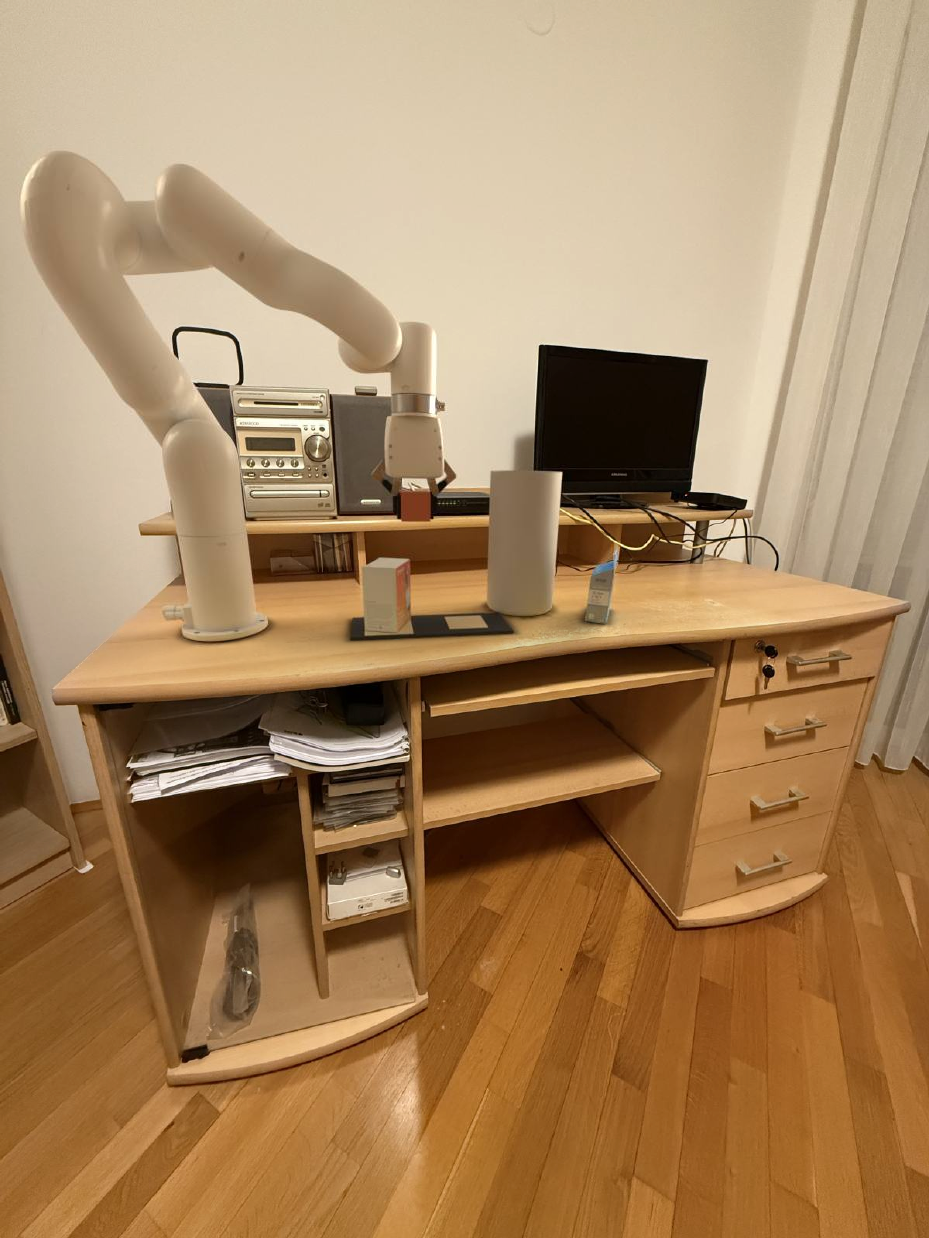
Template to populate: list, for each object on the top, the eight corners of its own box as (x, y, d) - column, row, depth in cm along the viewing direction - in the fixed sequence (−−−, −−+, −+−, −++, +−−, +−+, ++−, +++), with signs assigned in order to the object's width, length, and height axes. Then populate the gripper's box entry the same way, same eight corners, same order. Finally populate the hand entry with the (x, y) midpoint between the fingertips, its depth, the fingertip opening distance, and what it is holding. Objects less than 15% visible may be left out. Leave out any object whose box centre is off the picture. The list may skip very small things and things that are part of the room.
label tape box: (589, 608, 94) (595, 544, 90) (611, 610, 93) (618, 546, 89) (584, 621, 86) (591, 552, 82) (608, 624, 85) (616, 554, 81)
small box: (397, 634, 77) (395, 568, 73) (363, 631, 78) (360, 566, 74) (412, 618, 84) (411, 558, 81) (381, 616, 85) (378, 556, 82)
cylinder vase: (478, 613, 90) (482, 471, 82) (495, 596, 101) (500, 470, 93) (546, 620, 86) (556, 473, 78) (556, 602, 98) (566, 471, 90)
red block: (401, 521, 85) (401, 491, 83) (399, 518, 90) (399, 489, 88) (430, 521, 86) (430, 491, 84) (427, 518, 90) (427, 490, 89)
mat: (350, 640, 75) (349, 636, 75) (352, 620, 85) (352, 617, 85) (513, 633, 80) (513, 629, 80) (498, 614, 89) (498, 611, 89)
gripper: (459, 412, 87) (458, 516, 93) (362, 408, 84) (366, 516, 90) (468, 408, 80) (465, 521, 86) (361, 404, 77) (366, 521, 83)
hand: (414, 517), depth 88 cm, fingers closed on red block, 5 cm apart
